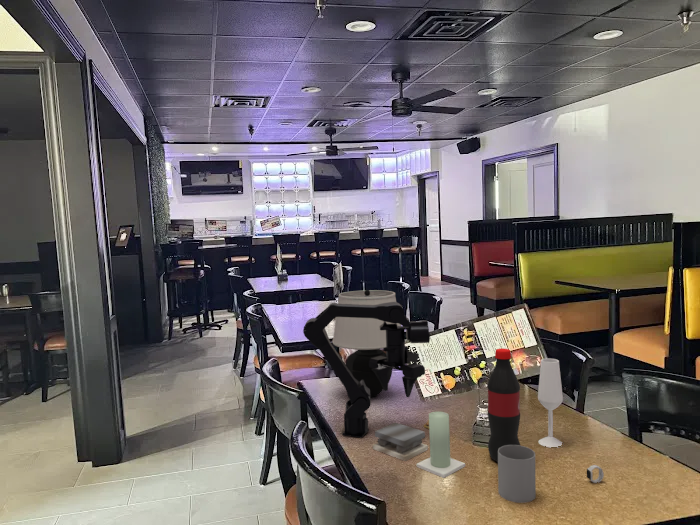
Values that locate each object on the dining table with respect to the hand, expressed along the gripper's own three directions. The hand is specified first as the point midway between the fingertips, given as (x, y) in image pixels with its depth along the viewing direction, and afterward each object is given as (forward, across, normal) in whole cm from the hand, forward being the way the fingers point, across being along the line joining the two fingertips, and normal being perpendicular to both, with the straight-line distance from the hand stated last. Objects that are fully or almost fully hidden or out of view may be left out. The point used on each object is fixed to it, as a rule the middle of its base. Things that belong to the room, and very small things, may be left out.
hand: (396, 393), depth 165 cm
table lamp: (+12, +32, -19) cm, 39 cm away
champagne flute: (+12, -37, -24) cm, 46 cm away
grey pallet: (+12, -9, +9) cm, 18 cm away
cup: (+12, -46, +8) cm, 48 cm away
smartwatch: (+12, -56, -10) cm, 58 cm away
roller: (+11, -24, +10) cm, 28 cm away
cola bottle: (+12, -34, -6) cm, 36 cm away
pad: (+12, -24, +10) cm, 29 cm away
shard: (+13, -8, -12) cm, 19 cm away
